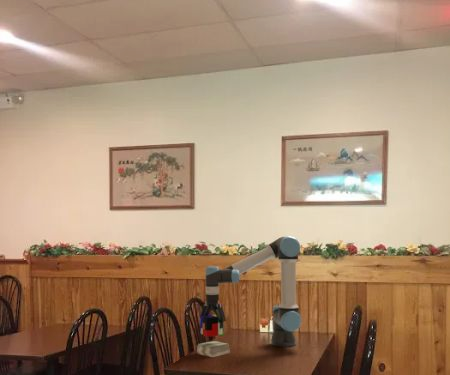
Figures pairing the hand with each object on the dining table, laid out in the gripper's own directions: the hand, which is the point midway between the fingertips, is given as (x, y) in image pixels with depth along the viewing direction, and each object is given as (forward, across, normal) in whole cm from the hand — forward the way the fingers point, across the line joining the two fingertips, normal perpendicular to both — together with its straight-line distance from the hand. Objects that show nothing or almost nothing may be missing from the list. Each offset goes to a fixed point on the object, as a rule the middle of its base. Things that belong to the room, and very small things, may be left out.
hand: (212, 332), depth 267 cm
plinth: (+11, 0, 0) cm, 11 cm away
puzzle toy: (+1, 0, 0) cm, 1 cm away
